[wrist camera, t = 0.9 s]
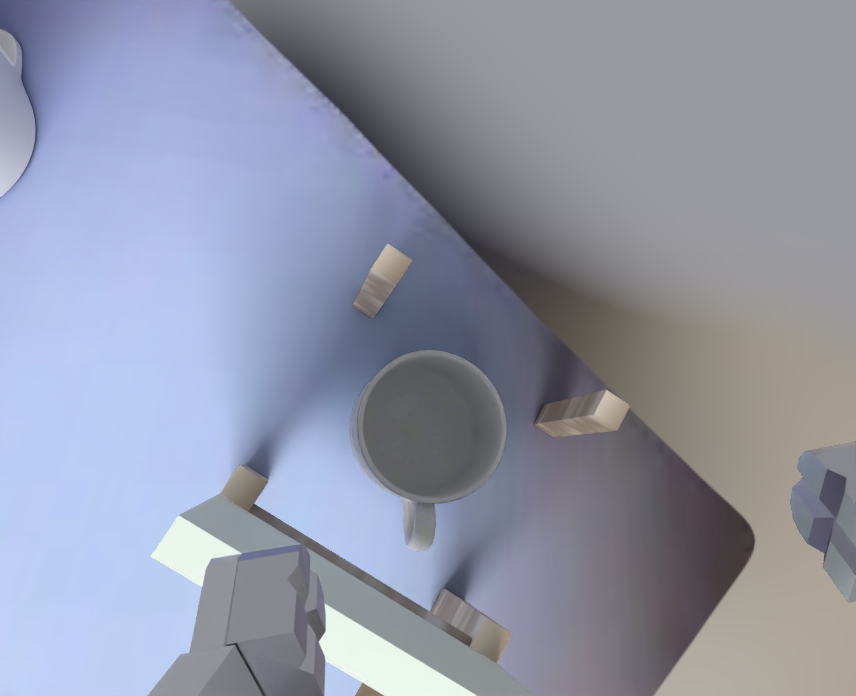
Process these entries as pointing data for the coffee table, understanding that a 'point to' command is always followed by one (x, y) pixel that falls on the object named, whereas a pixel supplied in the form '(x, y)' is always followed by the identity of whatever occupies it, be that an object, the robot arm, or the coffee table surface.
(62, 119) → the coffee table surface
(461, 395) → the teacup
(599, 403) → the stand
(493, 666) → the lid
